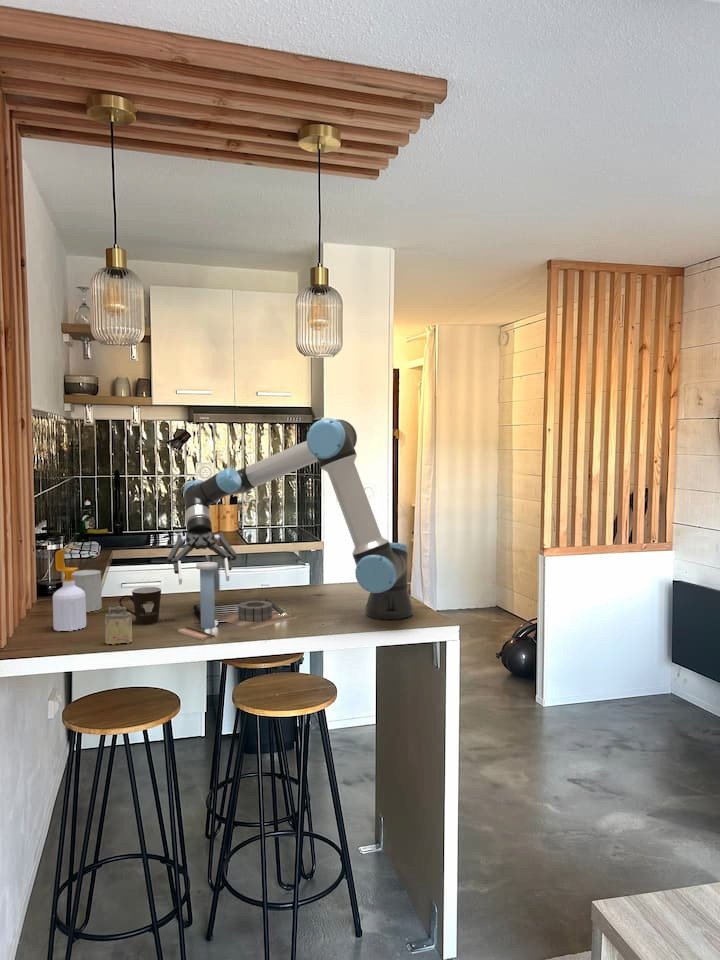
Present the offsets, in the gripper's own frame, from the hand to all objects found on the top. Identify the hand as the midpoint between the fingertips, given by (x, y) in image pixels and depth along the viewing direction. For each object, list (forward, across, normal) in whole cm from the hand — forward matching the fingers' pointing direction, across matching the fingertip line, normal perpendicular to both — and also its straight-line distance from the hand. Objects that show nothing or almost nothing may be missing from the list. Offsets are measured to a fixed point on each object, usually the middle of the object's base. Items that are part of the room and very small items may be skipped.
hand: (204, 580), depth 206 cm
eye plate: (+8, -15, -13) cm, 22 cm away
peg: (+12, 0, -8) cm, 14 cm away
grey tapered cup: (-16, +35, -37) cm, 53 cm away
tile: (+12, 0, -9) cm, 15 cm away
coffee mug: (0, +18, -21) cm, 27 cm away
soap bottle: (0, +38, -21) cm, 43 cm away
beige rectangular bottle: (+15, +24, -6) cm, 29 cm away
